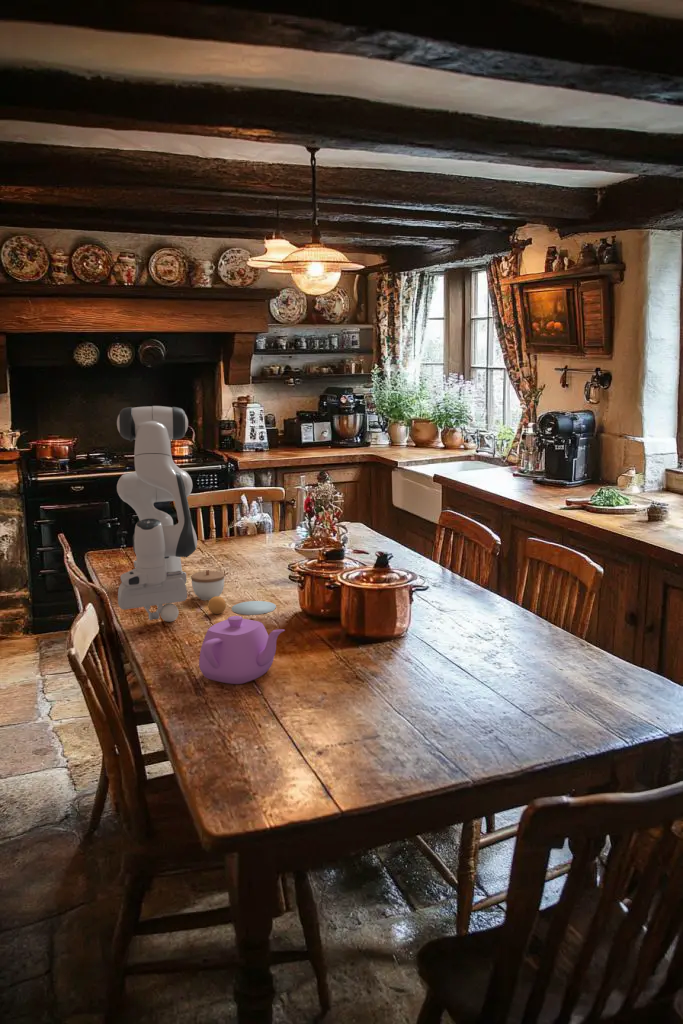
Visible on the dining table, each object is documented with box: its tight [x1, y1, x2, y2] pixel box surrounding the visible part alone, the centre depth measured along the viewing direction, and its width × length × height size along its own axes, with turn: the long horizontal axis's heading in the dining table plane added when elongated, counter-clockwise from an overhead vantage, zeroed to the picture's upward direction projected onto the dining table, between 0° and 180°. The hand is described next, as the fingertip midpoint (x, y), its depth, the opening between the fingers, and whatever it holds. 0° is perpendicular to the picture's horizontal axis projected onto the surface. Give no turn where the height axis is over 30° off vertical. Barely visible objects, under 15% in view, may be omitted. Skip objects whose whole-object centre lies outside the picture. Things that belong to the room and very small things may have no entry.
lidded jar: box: [191, 569, 225, 601], centre depth 282 cm, size 11×11×9 cm
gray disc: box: [231, 600, 277, 616], centre depth 271 cm, size 14×14×1 cm
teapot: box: [198, 615, 286, 685], centre depth 211 cm, size 23×21×15 cm
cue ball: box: [159, 603, 180, 623], centre depth 258 cm, size 6×6×6 cm
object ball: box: [207, 595, 227, 615], centre depth 265 cm, size 6×6×6 cm
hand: (154, 618), depth 257 cm, fingers closed
